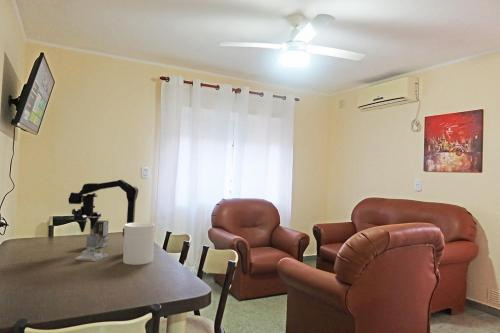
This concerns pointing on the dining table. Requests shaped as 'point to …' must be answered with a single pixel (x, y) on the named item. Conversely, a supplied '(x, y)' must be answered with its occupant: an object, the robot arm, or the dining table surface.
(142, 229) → the canister
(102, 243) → the coffee box
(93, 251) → the sleeve block
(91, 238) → the column
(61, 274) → the dining table surface
